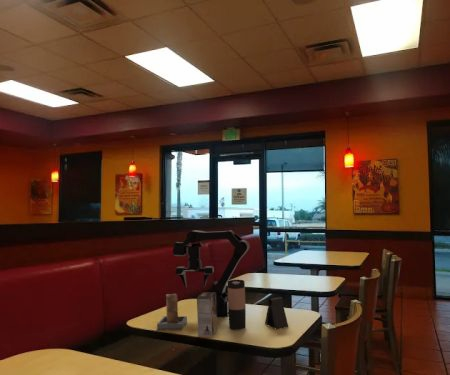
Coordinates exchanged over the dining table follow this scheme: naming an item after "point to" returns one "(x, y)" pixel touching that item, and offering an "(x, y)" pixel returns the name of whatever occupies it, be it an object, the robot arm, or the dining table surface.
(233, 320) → the travel mug
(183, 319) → the tray
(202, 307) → the coffee box
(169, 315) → the tan cylinder
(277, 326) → the door stopper
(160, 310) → the dining table surface
